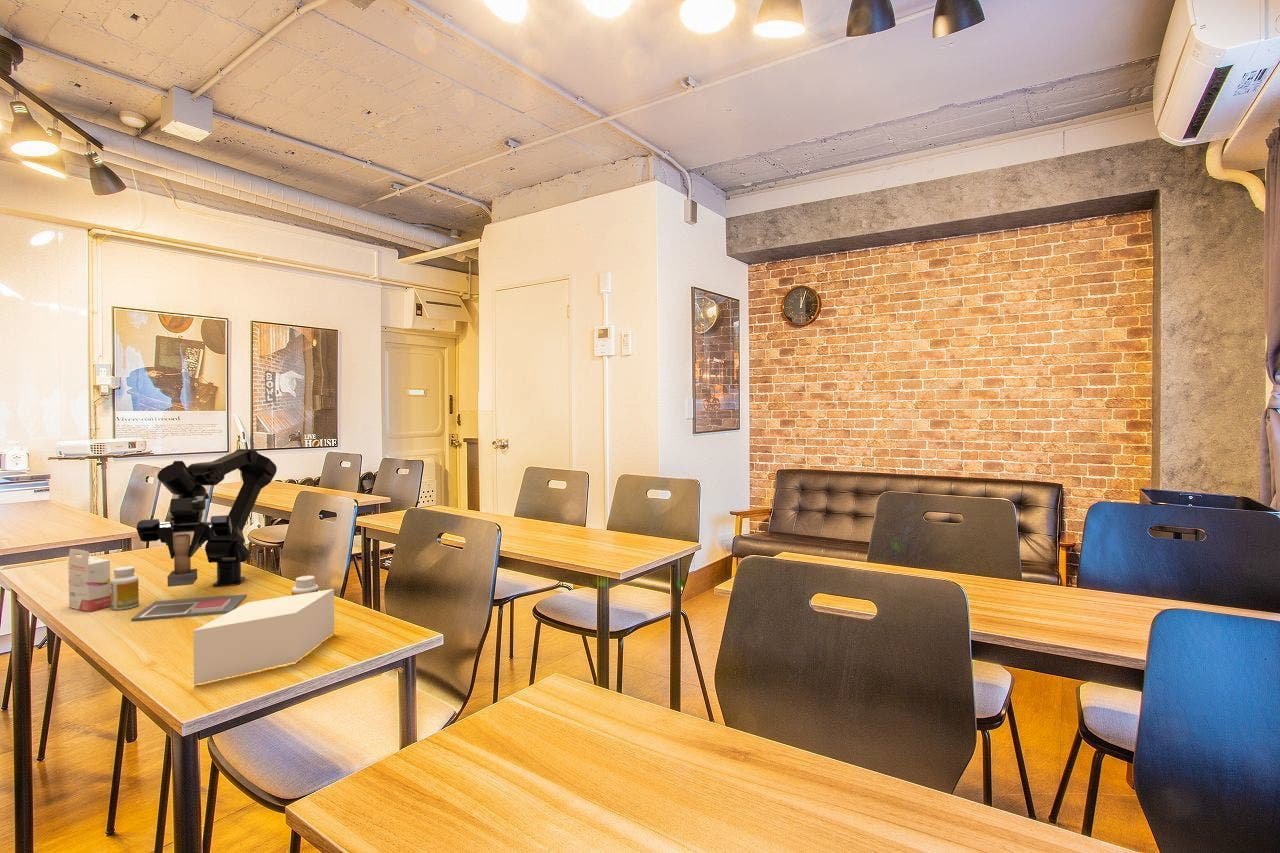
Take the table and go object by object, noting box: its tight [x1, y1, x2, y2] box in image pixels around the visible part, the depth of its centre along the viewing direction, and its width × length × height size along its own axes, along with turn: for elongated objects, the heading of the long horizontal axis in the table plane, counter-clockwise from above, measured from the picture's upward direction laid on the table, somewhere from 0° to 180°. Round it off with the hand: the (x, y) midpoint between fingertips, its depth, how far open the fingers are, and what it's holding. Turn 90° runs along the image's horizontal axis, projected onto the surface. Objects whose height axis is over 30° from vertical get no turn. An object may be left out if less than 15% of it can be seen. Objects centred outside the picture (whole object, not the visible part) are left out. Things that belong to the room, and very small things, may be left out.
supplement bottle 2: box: [291, 575, 320, 596], centre depth 147 cm, size 6×6×10 cm
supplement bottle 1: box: [110, 565, 140, 611], centre depth 157 cm, size 5×5×10 cm
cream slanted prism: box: [192, 588, 335, 686], centre depth 126 cm, size 14×29×10 cm, turn 155°
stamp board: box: [130, 593, 247, 622], centre depth 156 cm, size 14×20×2 cm
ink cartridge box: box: [67, 548, 111, 613], centre depth 156 cm, size 9×5×15 cm, turn 68°
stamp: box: [167, 533, 198, 587], centre depth 153 cm, size 5×5×12 cm
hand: (180, 557), depth 152 cm, fingers closed on stamp, 3 cm apart
